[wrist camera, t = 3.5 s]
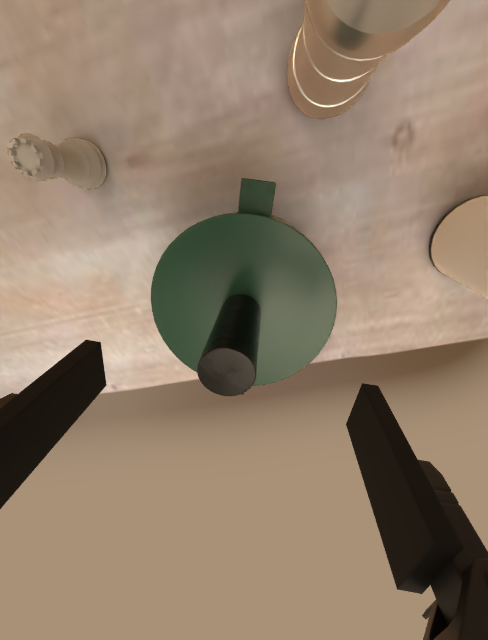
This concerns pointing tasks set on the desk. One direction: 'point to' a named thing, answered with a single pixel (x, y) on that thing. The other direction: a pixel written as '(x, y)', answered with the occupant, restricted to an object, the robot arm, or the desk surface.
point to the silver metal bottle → (349, 48)
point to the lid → (243, 301)
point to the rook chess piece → (59, 160)
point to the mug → (464, 244)
